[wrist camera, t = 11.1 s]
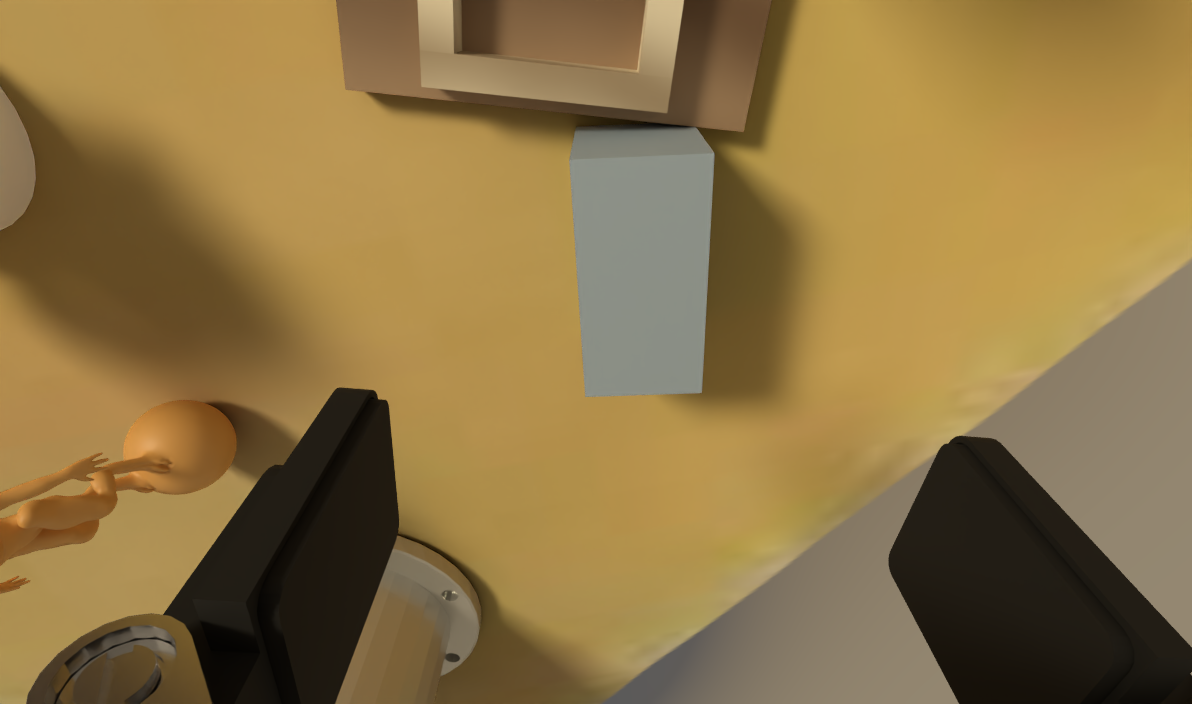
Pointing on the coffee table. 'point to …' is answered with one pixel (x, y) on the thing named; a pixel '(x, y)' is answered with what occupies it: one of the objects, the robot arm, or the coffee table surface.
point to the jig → (563, 55)
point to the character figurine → (14, 164)
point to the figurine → (152, 456)
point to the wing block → (642, 255)
